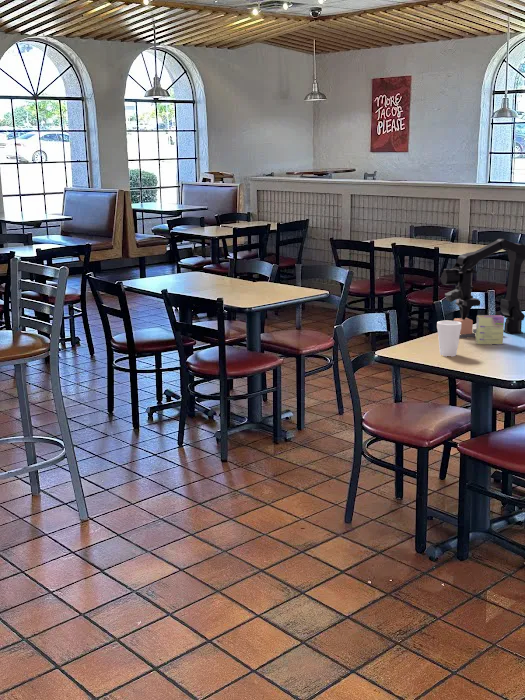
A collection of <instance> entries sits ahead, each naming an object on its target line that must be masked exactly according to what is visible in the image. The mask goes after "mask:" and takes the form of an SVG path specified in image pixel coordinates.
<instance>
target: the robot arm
mask: <svg viewBox="0 0 525 700" xmlns="http://www.w3.org/2000/svg"><path fill="white" fill-rule="evenodd" d="M502 250H503V251H505V252H507V258H508V260H509V269H508V271H509V272H508V279H507V286H506V287H507V289H506V295H505V297H504V298H503V299H502V298H501V299H500V304H499V305H500V306H499V308H500V312H501V313H502V314H503V315H502V316H503V317H504V319H505V321H504V330H503V333H504V332H505V333H506V334H509V335H516V334H524V331H522V323H523V321H524V320H525V314H524V313H523V312H522V310H521V303H520V300H519V290H520V281H521V272H522V271H521V270H522V264H523V263H524V262H525V244H522V243H516V242H512V241H510V240H507V239H504V238H497V239H496V240H495V241H493V242H490V243H489V244H487V245H485V246H483V247H481V248H479V249H477V250H475V251H470V252H466V253H463V254H460V255H459V256H457V258H456V262H455V263H454V265H453V266H452V268H451V269H449V268H448V269H447V268H444V269H443V272H442V273H441V275H440V283H441V284H442V285H443V286H447V285H448V286H450V285H456V286H455V289H453V290H451V291H448V292H445V293H444V296H445V299H446V301H447V302H450V303H452V302H454V301H456V302H454V304H455V305H456V306H457V307H458V309H459V312H460V318H462V319H465V318H467V316H468V314H469V313H470V310H471V309H472V307H479V306H481V300H480V299H478V298H476V297H474V296H473V295H472V290H473V289H474V286H473V285H472V284H473V283H472V282H473V275H474V274H477V273H478V271H476V270H475V269H474V267H475V266H477V265H478V264H479V263H480V261H483V260H484V259H485V258H487V257H489V256H492V255H493V254H496V253H497V252H500V251H502Z"/></svg>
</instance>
